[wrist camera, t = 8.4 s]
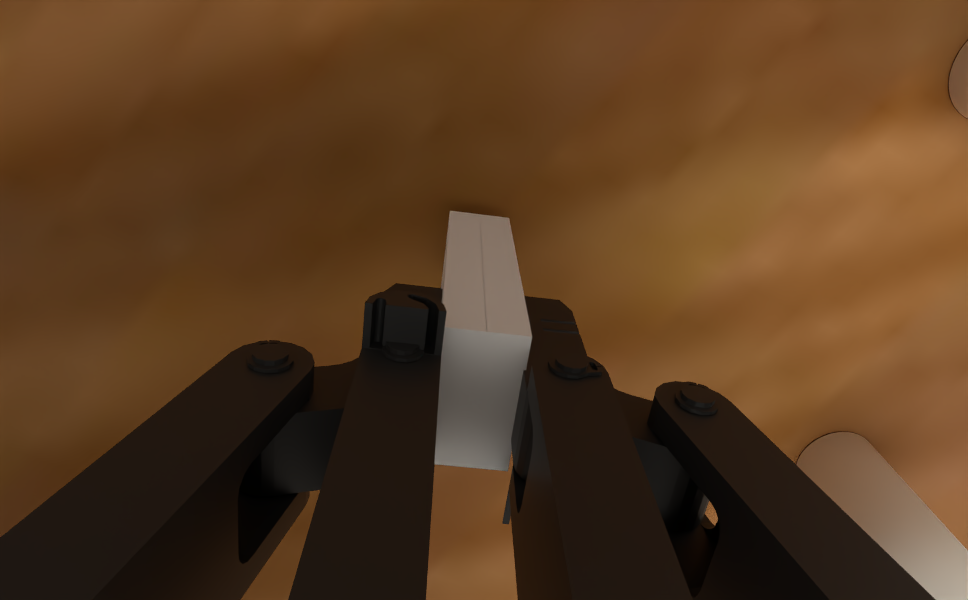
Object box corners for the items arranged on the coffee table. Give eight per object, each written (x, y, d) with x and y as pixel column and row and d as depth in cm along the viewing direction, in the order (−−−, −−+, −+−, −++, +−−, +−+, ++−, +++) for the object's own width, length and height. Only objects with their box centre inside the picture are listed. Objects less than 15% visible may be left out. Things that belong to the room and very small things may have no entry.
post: (785, 491, 23) (962, 765, 15) (810, 428, 22) (1015, 684, 14) (857, 498, 23) (1072, 772, 15) (885, 435, 22) (1132, 693, 14)
